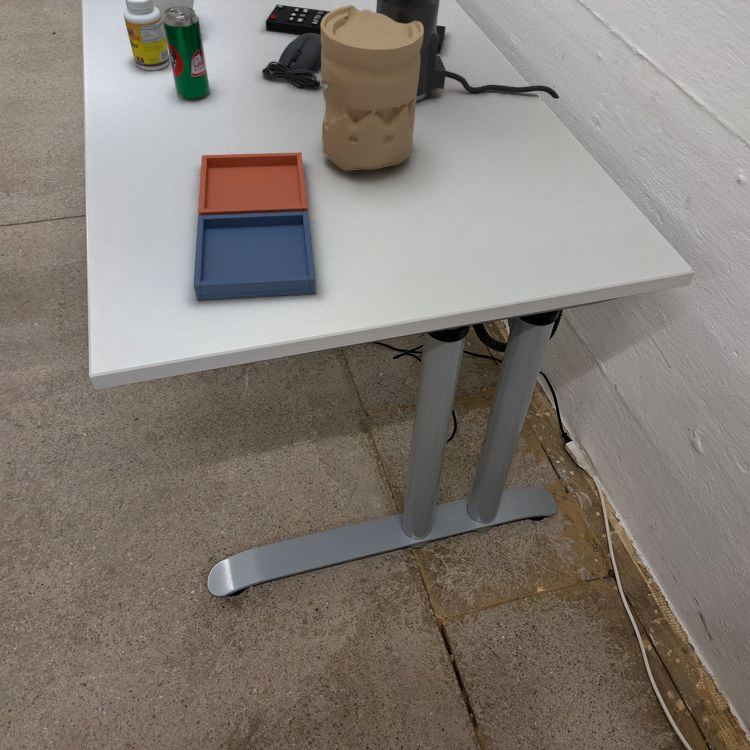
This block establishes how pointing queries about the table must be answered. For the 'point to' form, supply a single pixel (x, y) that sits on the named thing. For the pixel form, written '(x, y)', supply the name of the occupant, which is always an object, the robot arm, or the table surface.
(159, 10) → the figurine
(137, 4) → the supplement bottle
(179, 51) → the soda can
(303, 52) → the computer mouse
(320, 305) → the table surface
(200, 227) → the blue tray
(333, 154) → the container
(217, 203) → the terracotta tray
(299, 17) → the remote control
